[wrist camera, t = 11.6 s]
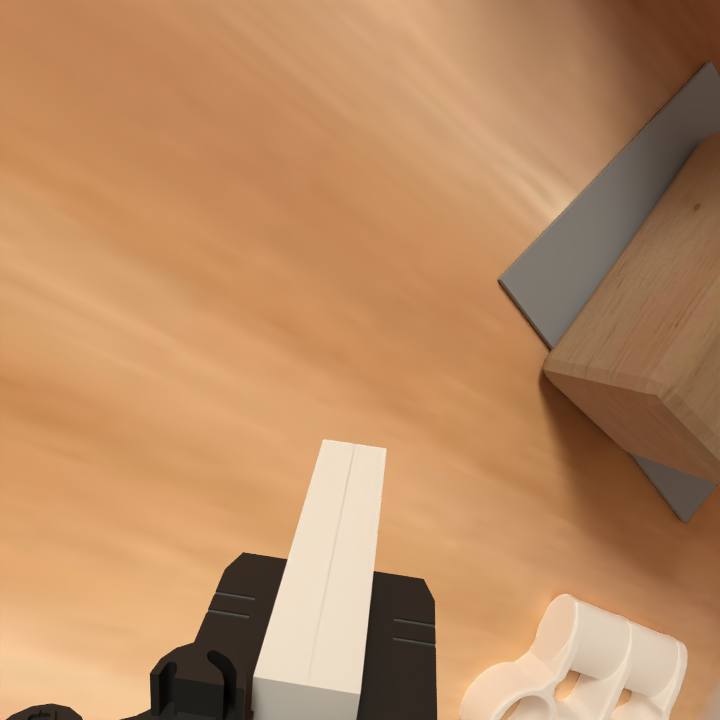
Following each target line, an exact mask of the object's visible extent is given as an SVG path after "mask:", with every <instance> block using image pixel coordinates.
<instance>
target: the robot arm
mask: <svg viewBox="0 0 720 720" xmlns="http://www.w3.org/2000/svg"><path fill="white" fill-rule="evenodd" d="M386 450H387V449H386V448H380V447H373V446H366V445H359V444H353V443H346V442H339V441H332V440H326V439H323V442H322V446H321V449H320V452H319V456H318V459H317V463H316V466H315V469H314V473H313V476H312V479H311V483H310V486H309V490H308V493H307V496H306V500H305V503H304V506H303V510H302V513H301V517H300V520H299V523H298V527H297V530H296V534H295V537H294V540H293V544H292V547H291V550H290V554H289V557H288V559H282V558H276V557H269V556H263V555H256V554H250V553H244V552H243V553H242V554H241V555H240V556H239V557H238V558H237V559H236V560H234V561H233V562H232V563H231V564H230V565H229V566H228V567H227V568H226V569H225V570H224V573H223V575H222V577H221V580H220V582H219V585H218V587H217V589H216V593H215V595H214V596H213V599H212V601H211V603H210V606H209V608H208V613H206V615H205V618H204V620H203V622H202V625H201V627H200V629H199V632H198V634H197V637H196V639H195V641H194V643H191V644H188V645H184V646H181V647H178V648H176V649H174V650H173V651H171V652H170V653H168V654H167V655H165V656H164V657H163V658H161V659H160V660H159V662H158V663H157V665H156V666H155V667H154V669H153V670H152V671H151V673H150V693H151V709H150V710H147V711H145V712H143V713H141V714H139V715H137V716H133V717H129V718H125V719H121V720H437V689H436V648H435V643H436V641H435V600H434V598H433V596H432V594H431V593H430V591H429V589H428V587H427V585H426V583H425V581H424V579H420V578H414V577H408V576H401V575H395V574H388V573H382V572H376V571H374V562H375V553H376V544H377V534H378V525H379V516H380V506H381V497H382V488H383V478H384V469H385V460H386ZM6 720H83V719H82V717H81V716H80V715H79V714H77V713H76V712H75V711H74V710H72V709H71V708H70V707H66V706H61V705H57V704H45V705H38V706H32V707H29V708H27V709H25V710H23V711H20V712H18V713H16V714H13V715H11V716H10V717H9V718H8V719H6Z"/></svg>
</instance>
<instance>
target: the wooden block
mask: <svg viewBox="0 0 720 720" xmlns="http://www.w3.org/2000/svg"><path fill="white" fill-rule="evenodd" d="M542 369H543V371H544V373H545V375H546V376H547V378H548V379H549V380H550V381H551V382H552V383H553V384H554V385H555V386H556V387H557V388H558V389H559V390H560V391H561V392H562V393H564V394H565V395H566V396H567V397H568V398H569V399H570V400H571V401H572V402H573V403H574V404H575V405H576V406H577V407H578V408H579V409H581V410H582V411H583V412H584V413H585V414H586V415H587V416H588V417H589V418H590V419H591V420H592V421H593V422H594V423H595V424H597V425H598V426H599V427H600V428H601V429H602V430H603V431H604V432H605V433H606V434H607V435H608V436H609V437H610V438H611V439H612V440H614V441H615V442H616V443H617V444H618V445H619V446H620V447H621V448H622V449H623V450H624V451H626V452H629V453H632V454H635V455H637V456H640V457H643V458H646V459H649V460H651V461H654V462H657V463H660V464H663V465H665V466H668V467H671V468H674V469H676V470H679V471H682V472H685V473H688V474H690V475H693V476H696V477H699V478H702V479H704V480H707V481H710V482H713V483H716V484H718V485H720V131H718V132H714V133H712V134H711V135H709V136H707V137H706V138H705V139H703V140H702V141H701V142H700V143H699V144H698V145H697V147H696V148H695V150H694V151H693V152H692V154H691V155H690V157H689V158H688V159H687V161H686V162H685V164H684V165H683V166H682V168H681V169H680V171H679V172H678V173H677V175H676V176H675V178H674V179H673V180H672V182H671V183H670V185H669V186H668V187H667V189H666V190H665V192H664V193H663V194H662V196H661V197H660V199H659V200H658V201H657V203H656V204H655V206H654V207H653V208H652V210H651V211H650V213H649V214H648V215H647V217H646V218H645V220H644V221H643V222H642V224H641V225H640V227H639V228H638V229H637V231H636V232H635V234H634V235H633V236H632V238H631V239H630V241H629V242H628V243H627V245H626V246H625V248H624V249H623V250H622V252H621V253H620V255H619V256H618V258H617V259H616V260H615V262H614V263H613V265H612V266H611V267H610V269H609V270H608V272H607V273H606V274H605V276H604V277H603V279H602V280H601V281H600V283H599V284H598V286H597V287H596V288H595V290H594V291H593V293H592V294H591V295H590V297H589V298H588V300H587V301H586V302H585V304H584V305H583V307H582V308H581V309H580V311H579V312H578V314H577V315H576V316H575V318H574V319H573V321H572V322H571V323H570V325H569V326H568V328H567V329H566V330H565V332H564V333H563V335H562V336H561V337H560V339H559V340H558V342H557V343H556V344H555V346H554V347H553V349H552V350H551V351H550V353H549V354H548V356H547V357H546V358H545V360H544V364H543V367H542Z"/></svg>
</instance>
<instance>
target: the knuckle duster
mask: <svg viewBox="0 0 720 720" xmlns="http://www.w3.org/2000/svg"><path fill="white" fill-rule="evenodd" d="M686 668H687V649H686V647H685V645H684V644H683V643H682V642H681V641H679V640H677V639H675V638H674V637H672V636H670V635H668V634H665V635H664V634H662V633H660V632H657V631H655V630H652V629H650V628H647V627H645V626H642V625H640V624H637V623H635V622H633V621H630V620H628V619H627V618H625V617H624V616H621V615H615V614H613V613H610V612H608V611H605V610H603V609H601V608H598V607H596V606H593V605H591V604H588V603H586V602H583V601H581V600H578V599H576V598H575V597H573V596H572V595H570V594H567V593H566V594H562V595H559V596H558V597H556V598H555V599H554V600H553V601H552V602H551V603H550V604H549V606H548V608H547V610H546V612H545V614H544V616H543V619H542V621H541V623H540V625H539V627H538V629H537V633H536V637H535V640H534V642H533V644H532V646H531V648H530V650H529V651H528V652H527V653H526V654H524V655H523V656H522V657H520V658H519V659H518V660H516V661H514V662H503V663H499V664H496V665H494V666H492V667H490V668H488V669H487V670H485V671H484V672H483V673H481V674H480V675H479V676H478V677H477V678H476V679H475V680H474V681H473V682H472V684H471V685H470V686H469V688H468V690H467V691H466V693H465V695H464V697H463V700H462V703H461V706H460V711H459V720H500V719H501V717H502V716H503V715H504V713H505V712H506V711H507V710H508V708H509V707H510V706H511V705H512V704H513V703H515V702H516V701H517V700H519V699H521V698H522V699H521V701H520V703H519V705H518V707H517V708H516V709H515V711H514V712H513V713H512V714H511V716H510V717H509V718H508V720H670V718H669V715H670V712H671V710H672V707H673V705H674V703H675V701H676V699H677V696H678V694H679V692H680V689H681V685H682V682H683V678H684V676H685V672H686ZM569 669H570V670H573V671H576V672H579V673H581V674H580V676H579V678H578V680H577V682H576V684H575V686H574V689H573V691H572V693H571V694H570V695H569V696H568V697H567V698H565V699H558V698H555V697H553V692H554V689H555V687H556V686H557V684H558V683H560V682H561V681H562V680H563V679H565V677H566V675H567V673H568V671H569ZM623 688H625V689H628V690H631V691H632V695H631V698H630V700H629V701H628V702H627V703H625V704H623V705H621V706H619V707H618V708H616V709H615V710H614V708H615V706H616V704H617V702H618V699H619V697H620V695H621V692H622V690H623ZM613 710H614V711H613Z"/></svg>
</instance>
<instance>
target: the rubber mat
mask: <svg viewBox="0 0 720 720" xmlns="http://www.w3.org/2000/svg"><path fill="white" fill-rule="evenodd" d="M718 131H720V76H719V74H718V72H717V70H716V68H715V66H714V64H713V63H712V61H710V62H707V63H706V64H705V65H704V66H703V67H702V68H701V69H700V70H699V71H698V72H697V73H696V74H695V75H694V76H693V77H692V78H691V79H690V80H689V81H688V82H687V83H686V84H685V85H684V86H683V88H682V89H681V90H680V91H679V92H678V93H677V94H676V95H675V96H674V97H673V98H672V99H671V100H670V101H669V102H668V103H667V104H666V105H665V106H664V107H663V108H662V109H661V110H660V111H659V112H658V114H657V115H656V116H655V117H654V118H653V119H652V120H651V121H650V122H649V123H648V124H647V125H646V126H645V127H644V128H643V129H642V130H641V131H640V132H639V133H638V134H637V135H636V136H635V137H634V138H633V139H632V141H631V142H630V143H629V144H628V145H627V146H626V147H625V148H624V149H623V150H622V151H621V152H620V153H619V154H618V155H617V156H616V157H615V158H614V159H613V160H612V161H611V162H610V163H609V164H608V165H607V166H606V168H605V169H604V170H603V171H602V172H601V173H600V174H599V175H598V176H597V177H596V178H595V179H594V180H593V181H592V182H591V183H590V184H589V185H588V186H587V187H586V188H585V189H584V190H583V191H582V192H581V193H580V195H579V196H578V197H577V198H576V199H575V200H574V201H573V202H572V203H571V204H570V205H569V206H568V207H567V208H566V209H565V210H564V211H563V212H562V213H561V214H560V215H559V216H558V217H557V218H556V219H555V220H554V222H553V223H552V224H551V225H550V226H549V227H548V228H547V229H546V230H545V231H544V232H543V233H542V234H541V235H540V236H539V237H538V238H537V239H536V240H535V241H534V242H533V243H532V244H531V245H530V246H529V247H528V249H527V250H526V251H525V252H524V253H523V254H522V255H521V256H520V257H519V258H518V259H517V260H516V261H515V262H514V263H513V264H512V265H511V266H510V267H509V268H508V269H507V270H506V271H505V272H504V273H503V274H502V276H501V277H500V278H499V279H498V281H499V282H500V284H501V285H502V286H503V288H504V289H505V290H506V291H507V293H508V294H509V295H510V297H511V298H512V299H513V301H514V302H515V303H516V305H517V306H518V307H519V309H520V310H521V311H522V312H523V314H524V315H525V316H526V318H527V319H528V320H529V322H530V323H531V324H532V326H533V327H534V328H535V330H536V331H537V332H538V333H539V335H540V336H541V337H542V339H543V340H544V341H545V343H546V344H547V345H548V347H549V348H550V349H551V350H552V349H553V347H554V346H555V344H556V343H557V342H558V340H559V339H560V337H561V336H562V335H563V333H564V332H565V330H566V329H567V328H568V326H569V325H570V323H571V322H572V321H573V319H574V318H575V316H576V315H577V314H578V312H579V311H580V309H581V308H582V307H583V305H584V304H585V302H586V301H587V300H588V298H589V297H590V295H591V294H592V293H593V291H594V290H595V288H596V287H597V286H598V284H599V283H600V281H601V280H602V279H603V277H604V276H605V274H606V273H607V272H608V270H609V269H610V267H611V266H612V265H613V263H614V262H615V260H616V259H617V258H618V256H619V255H620V253H621V252H622V250H623V249H624V248H625V246H626V245H627V243H628V242H629V241H630V239H631V238H632V236H633V235H634V234H635V232H636V231H637V229H638V228H639V227H640V225H641V224H642V222H643V221H644V220H645V218H646V217H647V215H648V214H649V213H650V211H651V210H652V208H653V207H654V206H655V204H656V203H657V201H658V200H659V199H660V197H661V196H662V194H663V193H664V192H665V190H666V189H667V187H668V186H669V185H670V183H671V182H672V180H673V179H674V178H675V176H676V175H677V173H678V172H679V171H680V169H681V168H682V166H683V165H684V164H685V162H686V161H687V159H688V158H689V157H690V155H691V154H692V152H693V151H694V150H695V148H696V147H697V145H698V144H699V143H700V142H701V141H702V140H703V139H705V138H706V137H707V136H709V135H711V134H712V133H714V132H718ZM630 454H631V456H632V457H633V458H634V460H635V461H636V462H637V464H638V465H639V466H640V467H641V469H642V470H643V471H644V473H645V474H646V475H647V477H648V478H649V479H650V481H651V482H652V483H653V485H654V486H655V487H656V489H657V490H658V491H659V492H660V494H661V495H662V496H663V498H664V499H665V500H666V502H667V503H668V504H669V506H670V507H671V508H672V510H673V511H674V512H675V513H676V515H677V516H678V517H679V519H680V520H681V521H682V522H684V523H687V522H688V520H689V519H690V518H691V517H692V515H693V514H694V513H695V512H696V511H697V509H698V508H699V507H700V506H701V504H702V503H703V502H704V501H705V500H706V498H707V497H708V496H709V495H710V493H711V492H712V491H713V490H714V489H715V487H716V486H717V485H718V484H716V483H713V482H710V481H707V480H704V479H702V478H699V477H696V476H693V475H690V474H688V473H685V472H682V471H679V470H676V469H674V468H671V467H668V466H665V465H663V464H660V463H657V462H654V461H651V460H649V459H646V458H643V457H640V456H637V455H635V454H632V453H630Z"/></svg>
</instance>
